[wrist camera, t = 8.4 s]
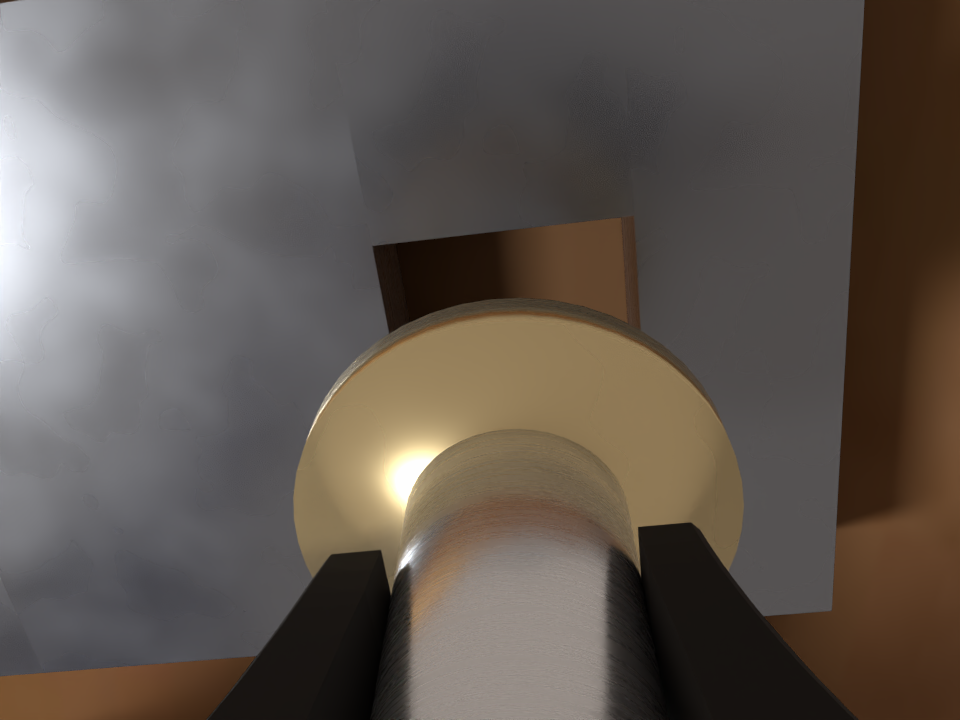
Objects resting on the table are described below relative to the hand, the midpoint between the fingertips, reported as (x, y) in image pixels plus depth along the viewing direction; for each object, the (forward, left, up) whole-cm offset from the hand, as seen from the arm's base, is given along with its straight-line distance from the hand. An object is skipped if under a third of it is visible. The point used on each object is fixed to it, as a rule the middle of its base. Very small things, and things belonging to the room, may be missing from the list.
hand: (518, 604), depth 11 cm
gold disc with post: (0, 0, -5) cm, 5 cm away
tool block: (-3, +7, -9) cm, 12 cm away
